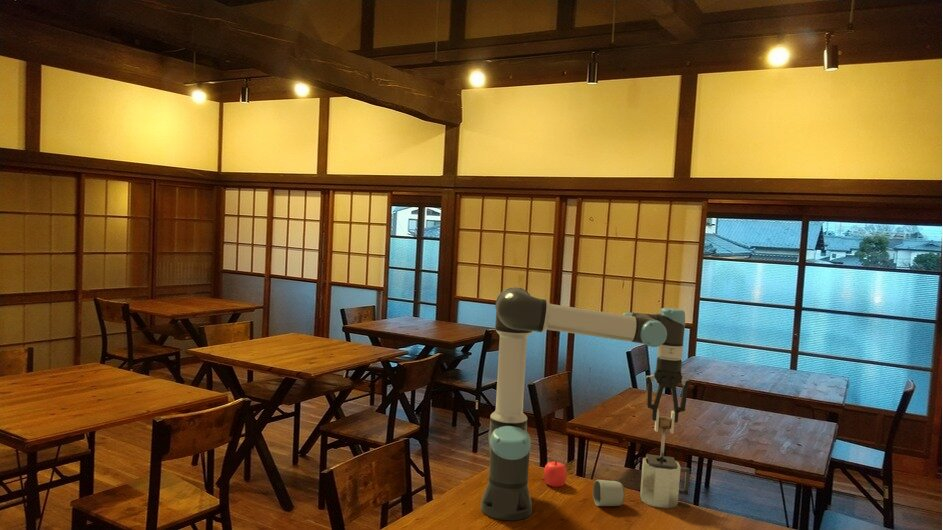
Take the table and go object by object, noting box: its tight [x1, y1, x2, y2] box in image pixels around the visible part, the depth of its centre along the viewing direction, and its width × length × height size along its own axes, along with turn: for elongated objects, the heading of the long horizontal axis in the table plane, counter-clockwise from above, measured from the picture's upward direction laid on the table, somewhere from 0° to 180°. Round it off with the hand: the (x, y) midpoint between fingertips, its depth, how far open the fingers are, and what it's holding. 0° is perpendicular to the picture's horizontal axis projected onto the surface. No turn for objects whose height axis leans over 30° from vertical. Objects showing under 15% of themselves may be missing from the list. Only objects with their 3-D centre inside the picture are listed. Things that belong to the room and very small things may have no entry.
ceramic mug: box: [592, 479, 626, 507], centre depth 205 cm, size 11×8×8 cm
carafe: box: [639, 454, 691, 510], centre depth 208 cm, size 14×11×13 cm
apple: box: [543, 460, 568, 488], centre depth 218 cm, size 8×8×8 cm
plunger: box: [658, 415, 672, 469], centre depth 208 cm, size 8×8×18 cm
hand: (663, 431), depth 208 cm, fingers closed on plunger, 4 cm apart
